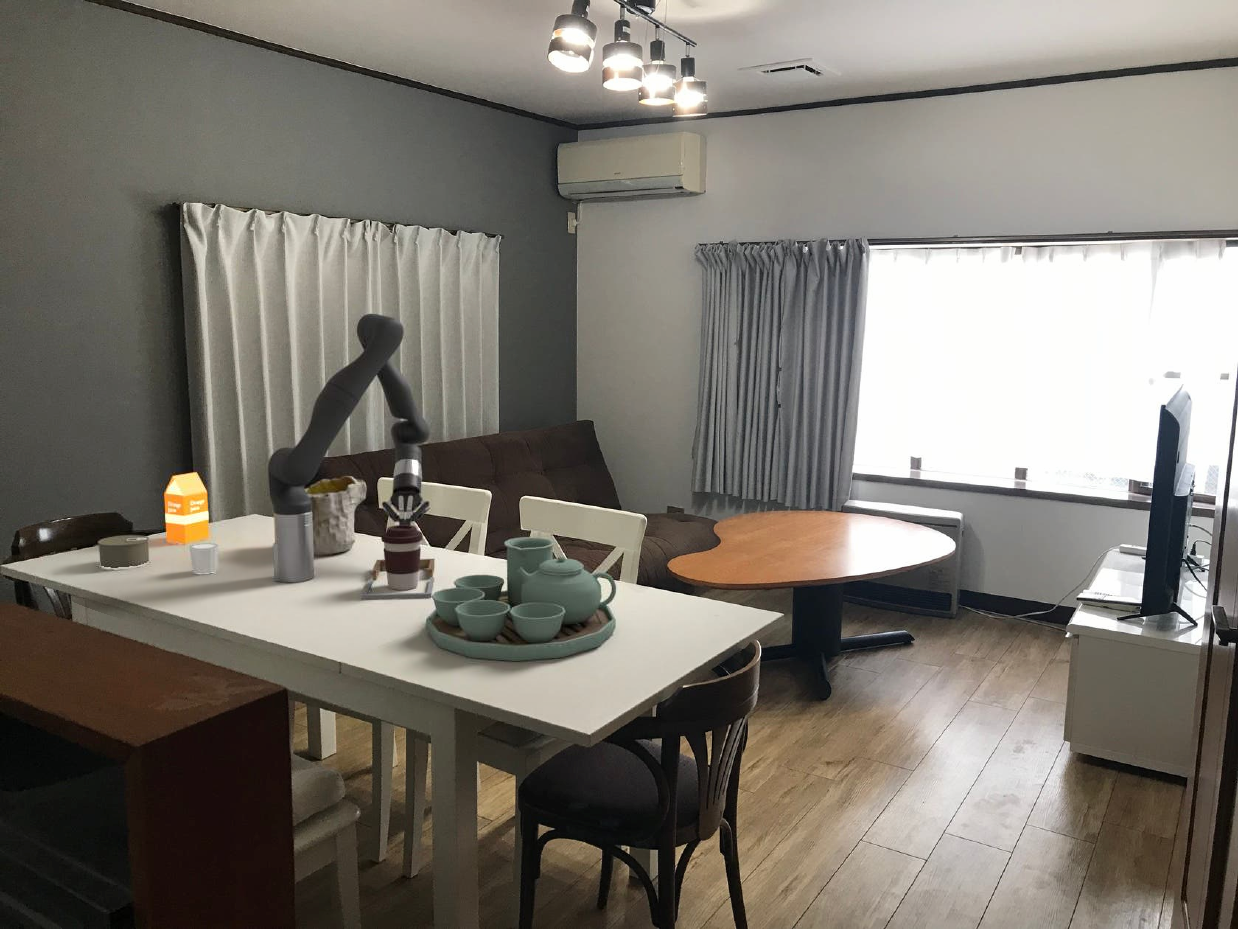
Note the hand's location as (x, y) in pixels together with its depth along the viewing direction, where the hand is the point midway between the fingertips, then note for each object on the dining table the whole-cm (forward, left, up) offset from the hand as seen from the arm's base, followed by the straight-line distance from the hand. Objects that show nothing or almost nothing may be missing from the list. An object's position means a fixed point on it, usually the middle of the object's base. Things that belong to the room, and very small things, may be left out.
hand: (404, 533), depth 250 cm
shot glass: (-51, +4, -10) cm, 52 cm away
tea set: (+29, -52, -11) cm, 60 cm away
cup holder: (0, -2, -10) cm, 11 cm away
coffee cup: (+1, -14, -10) cm, 18 cm away
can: (-74, +14, -11) cm, 76 cm away
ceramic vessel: (-26, +27, -10) cm, 39 cm away
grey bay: (0, -17, -10) cm, 20 cm away
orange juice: (-66, +42, -10) cm, 79 cm away
